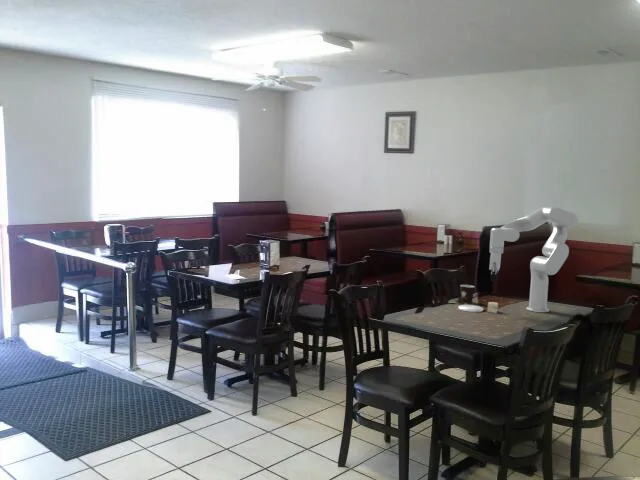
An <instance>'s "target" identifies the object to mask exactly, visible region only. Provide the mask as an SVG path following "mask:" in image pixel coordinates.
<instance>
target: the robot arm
mask: <svg viewBox="0 0 640 480" xmlns="http://www.w3.org/2000/svg"><path fill="white" fill-rule="evenodd" d="M578 221H579V218H578V216H577V214H575V213H574V212H572V211H568V210H565V209H562V208H559V207H555V206H542V207H540V208H537V209H536V210H535V211H533V212H531V213H530V214H528V215H526V216H524V217H520V218H518V219H517V218H516V219H515V220H512V221H510V222H508V223H505V224H504V225H502V226H501V227H493V228H491V229H490V237H489V238H490V239H489V253H490V257H489V268H488V269H489V271H491V272H490V279H489V280H490V282H497V281H498V280H499V275H500V268H501V259H502V254H504V248H505V247H504V246H505V241H506V242H516V241H518V240H519V238H520V233H521V232H528V231H532V230H535V229H537V228H538V227H539V226H542V225H543V224H546V223H547V222H549V223H550V222H551V224H552V232H551V234H550V236H549V237H548V239H547V240H546V242H545V244H544V245H543V247H542V248H541V252H542V255H543V256H540V255H537V256H535V257H532V259H531V260H530V262H529V263H530V264H529V269H530V288H529V301H528V302H529V303H528V306H526V308H525V310H527V311H530V312H535V313H548V312H550V309H549V308H547V305H548V291H549V276H553V275H556V274H557V273H558V272H559V271H560V269H561V268H562V266H563V265H564V264H565V261H566V260H567V259H568V257H569V253H570V247H569V246H568V245H567V244H566V241H567V238H568V228H575V226H577V224H578Z"/></svg>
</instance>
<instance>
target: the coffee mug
mask: <svg viewBox="0 0 640 480" xmlns="http://www.w3.org/2000/svg"><path fill="white" fill-rule="evenodd" d="M459 287H460V302H461V303H463V302H464V304H472V303H473V300H474V299H475V298H476V297H478V296H479V294H480V291H479V290H478V289H475V288H476V287H475V286H474V285H470V284H460V285H459ZM475 291H476V293H477V294H476V295H475V296H474V293H475Z"/></svg>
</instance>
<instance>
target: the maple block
mask: <svg viewBox="0 0 640 480" xmlns="http://www.w3.org/2000/svg"><path fill="white" fill-rule="evenodd" d="M497 311H499V303H498V302H494V301H491V302H490V301H488V303H487V311H486V312H487V313H493V314H497V313H498V312H497Z"/></svg>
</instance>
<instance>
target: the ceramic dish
mask: <svg viewBox="0 0 640 480" xmlns="http://www.w3.org/2000/svg"><path fill="white" fill-rule="evenodd" d="M457 309H458V310H459V311H463V312H466V313H468V312H469V313H481V312H483V311H484V307H483V306H479V305H473V304H460V305H458V308H457Z"/></svg>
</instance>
